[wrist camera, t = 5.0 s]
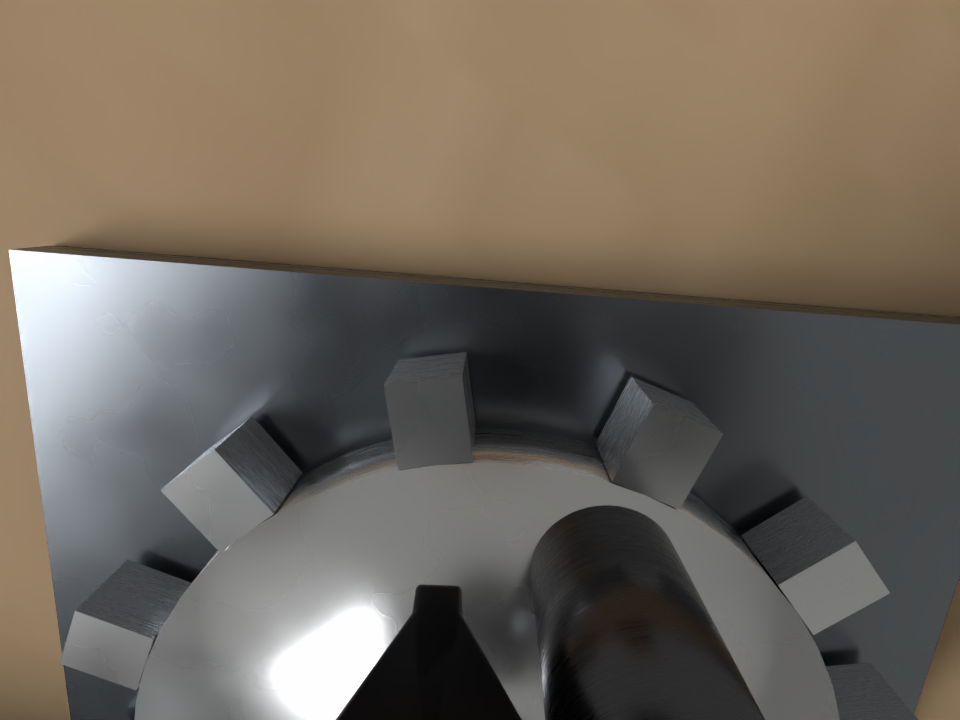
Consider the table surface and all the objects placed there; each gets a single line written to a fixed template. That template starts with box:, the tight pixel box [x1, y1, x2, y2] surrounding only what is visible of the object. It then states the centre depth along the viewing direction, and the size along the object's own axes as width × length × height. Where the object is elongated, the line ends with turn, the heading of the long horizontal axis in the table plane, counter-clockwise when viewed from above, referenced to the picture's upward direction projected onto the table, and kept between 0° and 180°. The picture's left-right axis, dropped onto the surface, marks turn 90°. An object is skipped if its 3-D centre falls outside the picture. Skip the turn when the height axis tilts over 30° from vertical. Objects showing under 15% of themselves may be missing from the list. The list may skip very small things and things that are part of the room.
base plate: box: [9, 246, 960, 720], centre depth 13 cm, size 18×18×1 cm
